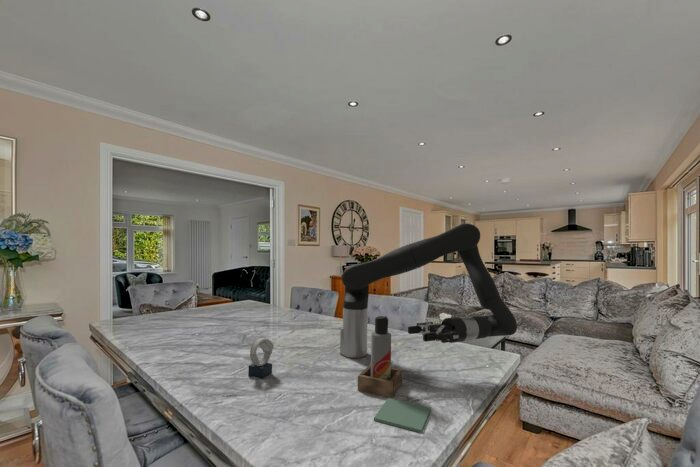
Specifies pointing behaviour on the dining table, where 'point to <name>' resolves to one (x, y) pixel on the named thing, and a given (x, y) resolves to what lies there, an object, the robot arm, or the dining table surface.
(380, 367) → the lotion bottle
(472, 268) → the robot arm
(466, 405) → the dining table surface
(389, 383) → the walnut holder
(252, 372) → the watch
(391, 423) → the sage mat
